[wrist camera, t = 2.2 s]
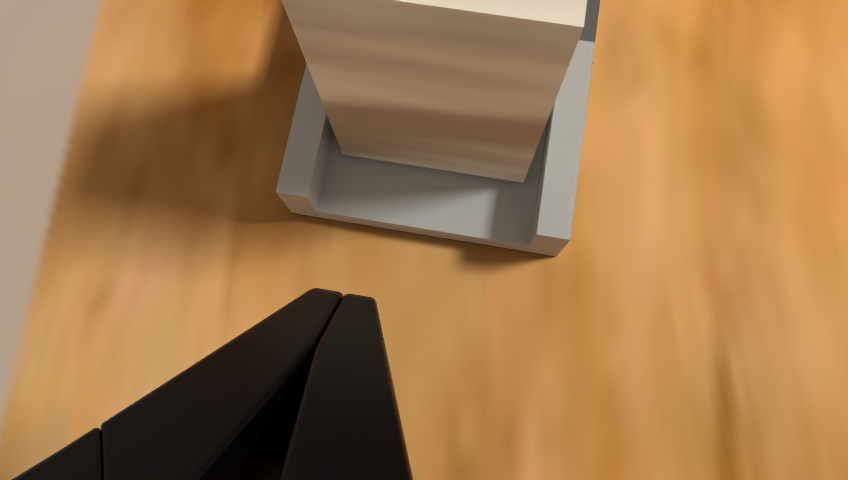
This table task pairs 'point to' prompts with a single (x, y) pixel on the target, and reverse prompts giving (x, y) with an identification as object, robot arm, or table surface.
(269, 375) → the robot arm
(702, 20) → the table surface
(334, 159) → the channel
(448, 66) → the cream block
